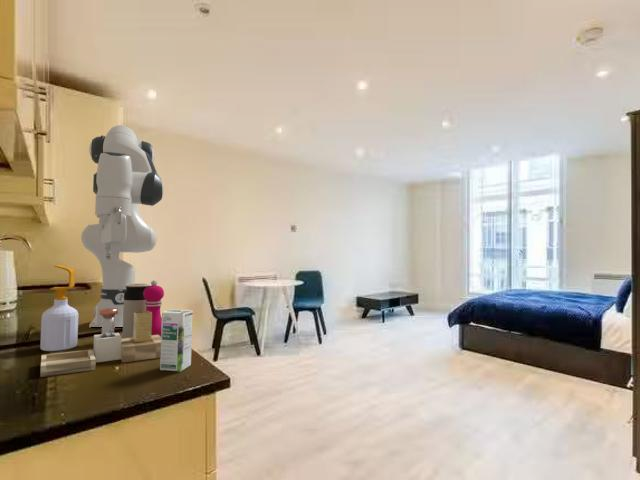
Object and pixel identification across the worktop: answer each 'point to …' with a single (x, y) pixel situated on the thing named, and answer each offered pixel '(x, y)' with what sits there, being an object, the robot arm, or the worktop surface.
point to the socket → (140, 349)
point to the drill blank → (142, 326)
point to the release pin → (108, 321)
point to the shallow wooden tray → (67, 362)
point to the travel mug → (132, 306)
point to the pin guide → (107, 348)
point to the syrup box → (176, 340)
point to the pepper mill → (154, 305)
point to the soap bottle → (60, 320)
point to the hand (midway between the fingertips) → (111, 259)
